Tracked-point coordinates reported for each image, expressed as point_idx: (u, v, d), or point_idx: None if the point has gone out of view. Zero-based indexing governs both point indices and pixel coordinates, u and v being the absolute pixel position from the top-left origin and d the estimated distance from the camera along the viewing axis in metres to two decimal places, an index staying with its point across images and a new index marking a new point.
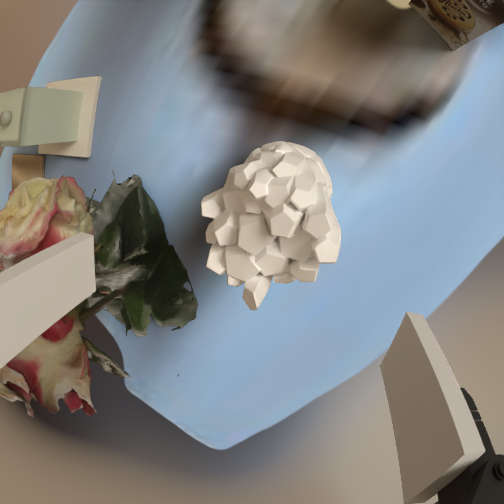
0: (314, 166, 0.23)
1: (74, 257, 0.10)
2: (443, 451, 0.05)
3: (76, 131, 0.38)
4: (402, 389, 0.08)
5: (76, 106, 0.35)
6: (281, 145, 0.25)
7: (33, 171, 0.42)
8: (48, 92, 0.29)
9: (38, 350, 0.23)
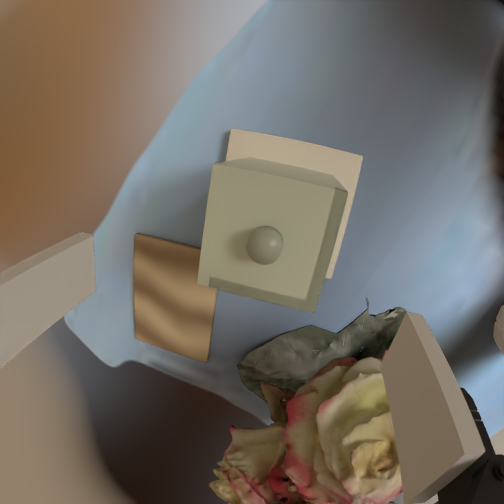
0: None
1: (74, 257, 0.10)
2: (443, 451, 0.05)
3: None
4: (402, 389, 0.08)
5: None
6: None
7: (194, 273, 0.34)
8: None
9: None
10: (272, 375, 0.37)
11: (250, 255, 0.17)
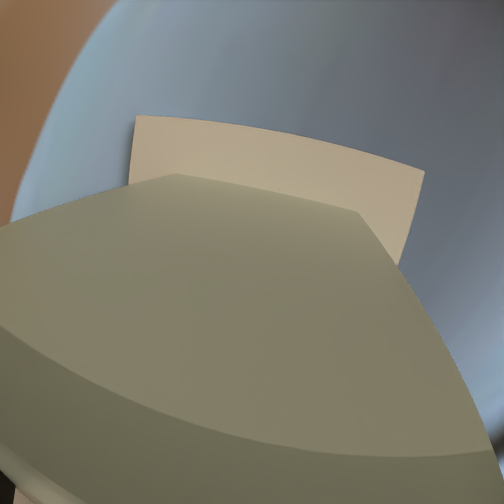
0: None
1: None
2: None
3: None
4: None
5: None
6: None
7: None
8: None
9: None
10: None
11: None
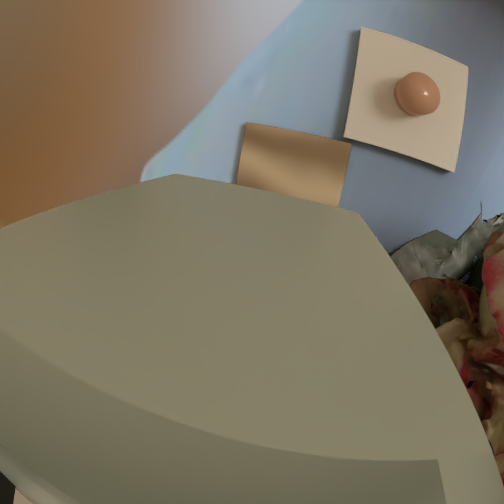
0: None
1: None
2: None
3: None
4: None
5: None
6: None
7: (319, 165, 0.29)
8: None
9: None
10: None
11: None
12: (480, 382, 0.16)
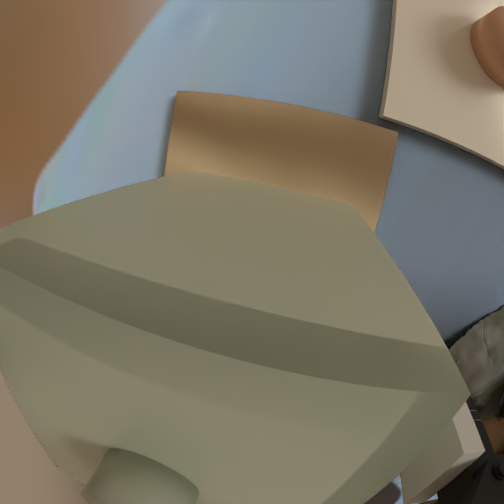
0: None
1: None
2: (443, 451, 0.05)
3: None
4: None
5: None
6: None
7: (329, 176, 0.13)
8: None
9: None
10: None
11: None
12: None
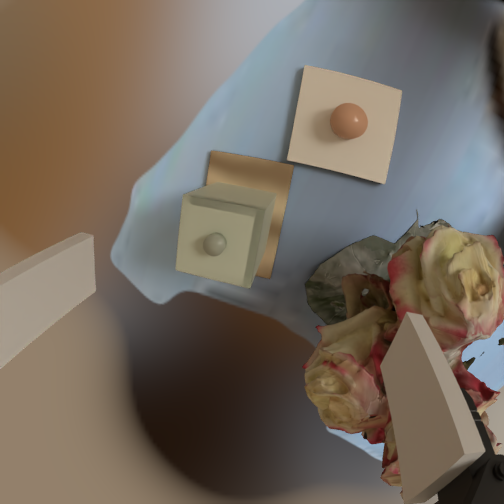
0: None
1: (74, 257, 0.10)
2: (443, 451, 0.05)
3: None
4: (402, 389, 0.08)
5: (271, 213, 0.38)
6: None
7: (267, 183, 0.38)
8: (268, 209, 0.31)
9: None
10: (339, 289, 0.41)
11: (205, 250, 0.28)
12: None
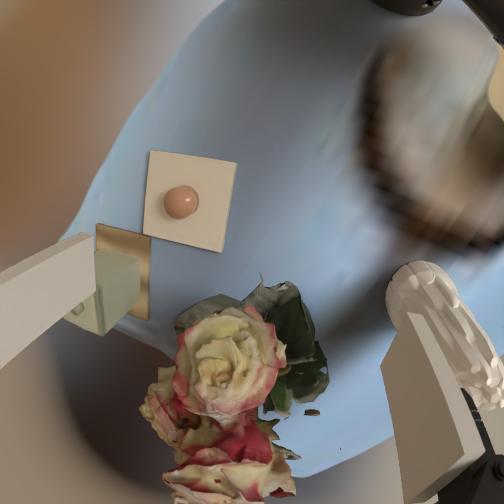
0: (473, 318, 0.27)
1: (74, 257, 0.10)
2: (443, 451, 0.05)
3: (139, 293, 0.49)
4: (402, 389, 0.08)
5: (136, 275, 0.46)
6: (454, 299, 0.29)
7: (133, 250, 0.47)
8: (114, 281, 0.40)
9: (256, 473, 0.27)
10: None
11: (71, 311, 0.37)
12: None
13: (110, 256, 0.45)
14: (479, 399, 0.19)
